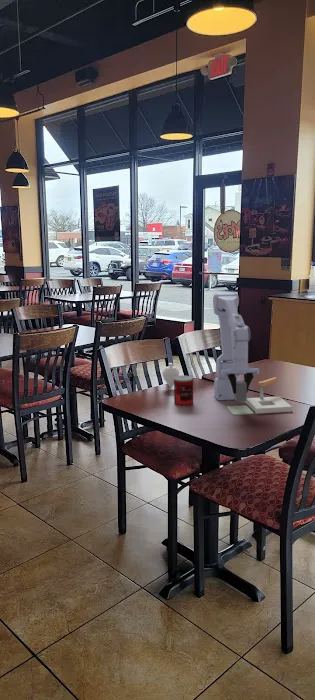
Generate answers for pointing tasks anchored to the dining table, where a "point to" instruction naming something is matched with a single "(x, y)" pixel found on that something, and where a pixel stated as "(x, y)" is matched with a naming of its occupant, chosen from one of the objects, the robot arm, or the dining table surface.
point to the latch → (267, 382)
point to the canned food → (183, 390)
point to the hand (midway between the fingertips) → (240, 392)
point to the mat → (239, 410)
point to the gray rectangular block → (241, 391)
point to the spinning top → (170, 374)
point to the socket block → (268, 404)
